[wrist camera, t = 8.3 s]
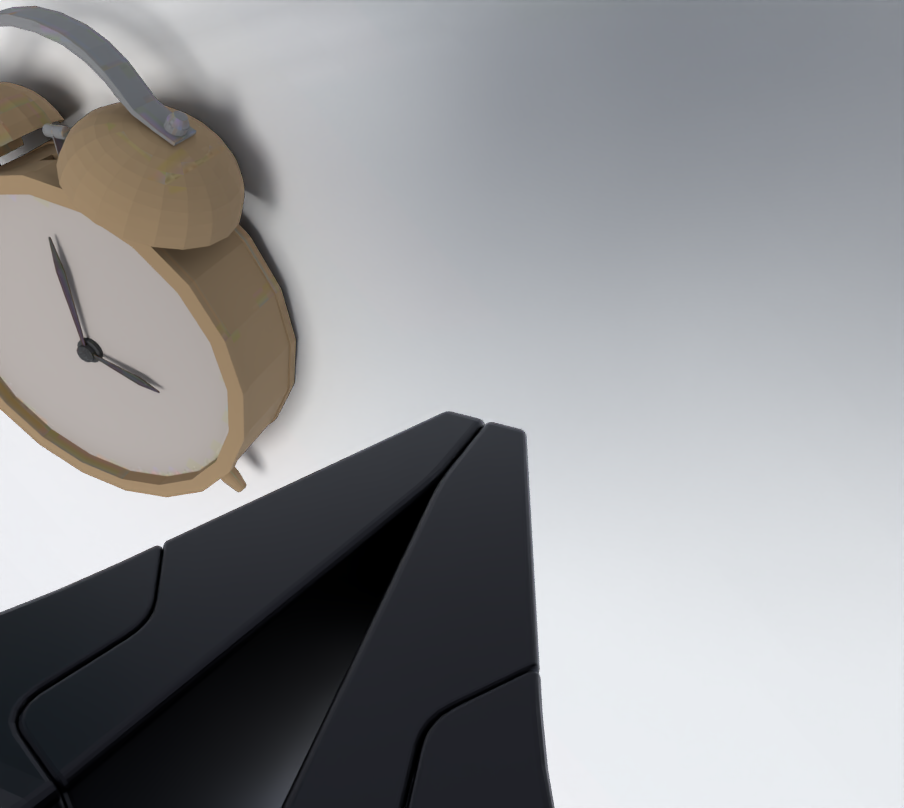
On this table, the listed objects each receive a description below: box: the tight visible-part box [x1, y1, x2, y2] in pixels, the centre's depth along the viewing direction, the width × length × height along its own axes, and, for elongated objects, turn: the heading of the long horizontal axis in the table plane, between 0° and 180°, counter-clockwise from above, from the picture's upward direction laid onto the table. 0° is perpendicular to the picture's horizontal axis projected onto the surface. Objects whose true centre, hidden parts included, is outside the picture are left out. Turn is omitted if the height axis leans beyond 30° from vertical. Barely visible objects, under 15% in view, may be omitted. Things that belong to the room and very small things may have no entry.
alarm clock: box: [0, 6, 296, 497], centre depth 25 cm, size 11×5×15 cm
